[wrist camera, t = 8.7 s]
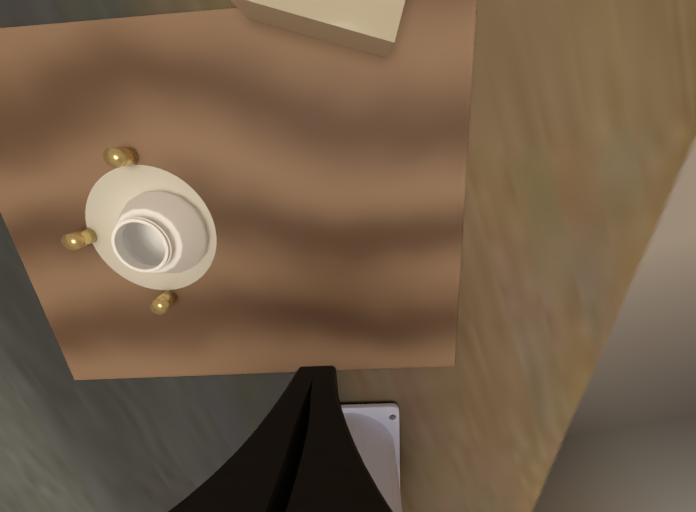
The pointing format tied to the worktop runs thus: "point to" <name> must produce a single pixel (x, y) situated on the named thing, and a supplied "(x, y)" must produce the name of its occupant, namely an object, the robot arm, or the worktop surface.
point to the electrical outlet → (333, 20)
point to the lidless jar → (159, 234)
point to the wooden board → (242, 189)
